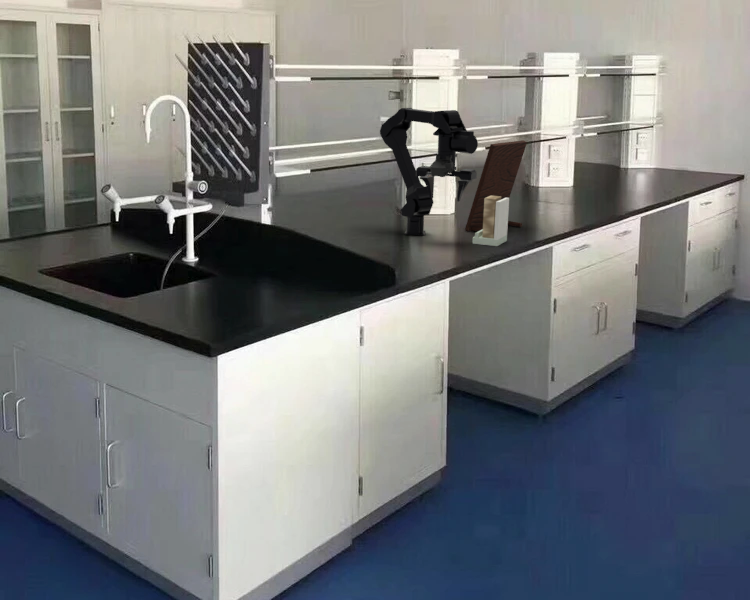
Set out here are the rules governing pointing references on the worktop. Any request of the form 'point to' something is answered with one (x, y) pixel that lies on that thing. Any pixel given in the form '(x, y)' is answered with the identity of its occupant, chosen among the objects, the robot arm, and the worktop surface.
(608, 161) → the worktop surface
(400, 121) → the robot arm
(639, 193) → the worktop surface
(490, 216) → the oak photo frame
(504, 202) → the picture ledge
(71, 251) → the worktop surface
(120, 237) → the worktop surface
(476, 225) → the picture frame
